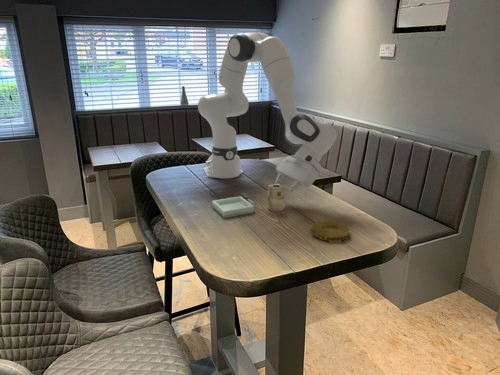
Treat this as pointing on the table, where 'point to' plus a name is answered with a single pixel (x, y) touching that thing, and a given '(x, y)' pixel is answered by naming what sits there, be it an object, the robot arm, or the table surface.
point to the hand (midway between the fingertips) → (282, 187)
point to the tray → (232, 206)
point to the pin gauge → (247, 198)
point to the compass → (330, 231)
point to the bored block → (275, 197)
